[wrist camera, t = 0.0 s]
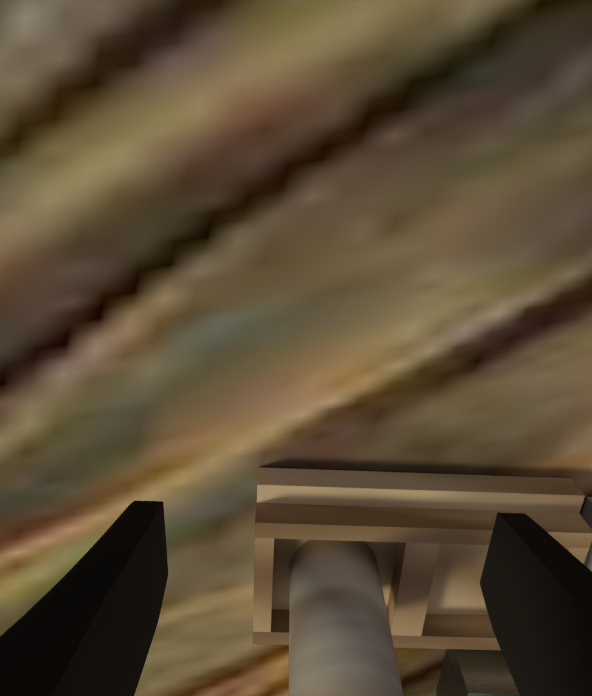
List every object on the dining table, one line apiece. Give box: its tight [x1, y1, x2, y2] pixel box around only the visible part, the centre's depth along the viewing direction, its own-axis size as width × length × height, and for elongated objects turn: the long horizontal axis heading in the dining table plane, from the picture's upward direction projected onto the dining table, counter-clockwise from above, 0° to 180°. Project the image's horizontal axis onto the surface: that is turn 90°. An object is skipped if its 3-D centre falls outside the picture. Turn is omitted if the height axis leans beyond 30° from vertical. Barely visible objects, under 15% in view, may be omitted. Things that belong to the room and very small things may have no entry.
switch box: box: [436, 649, 520, 696], centre depth 26 cm, size 5×5×3 cm
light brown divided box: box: [253, 467, 592, 696], centre depth 21 cm, size 9×14×7 cm, turn 87°
